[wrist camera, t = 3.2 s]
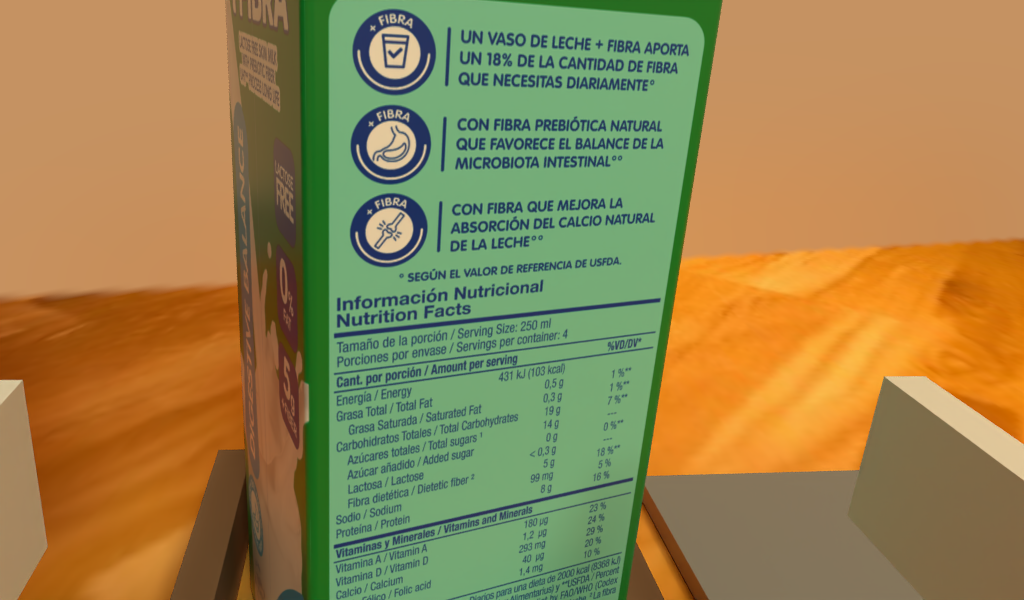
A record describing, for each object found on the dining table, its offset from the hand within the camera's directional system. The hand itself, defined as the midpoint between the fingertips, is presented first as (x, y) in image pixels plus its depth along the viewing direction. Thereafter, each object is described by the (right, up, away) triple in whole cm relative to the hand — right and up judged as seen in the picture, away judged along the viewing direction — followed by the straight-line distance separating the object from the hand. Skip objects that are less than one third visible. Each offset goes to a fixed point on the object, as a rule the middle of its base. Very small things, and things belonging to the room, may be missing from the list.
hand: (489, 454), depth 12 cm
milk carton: (-3, -9, +13) cm, 16 cm away
